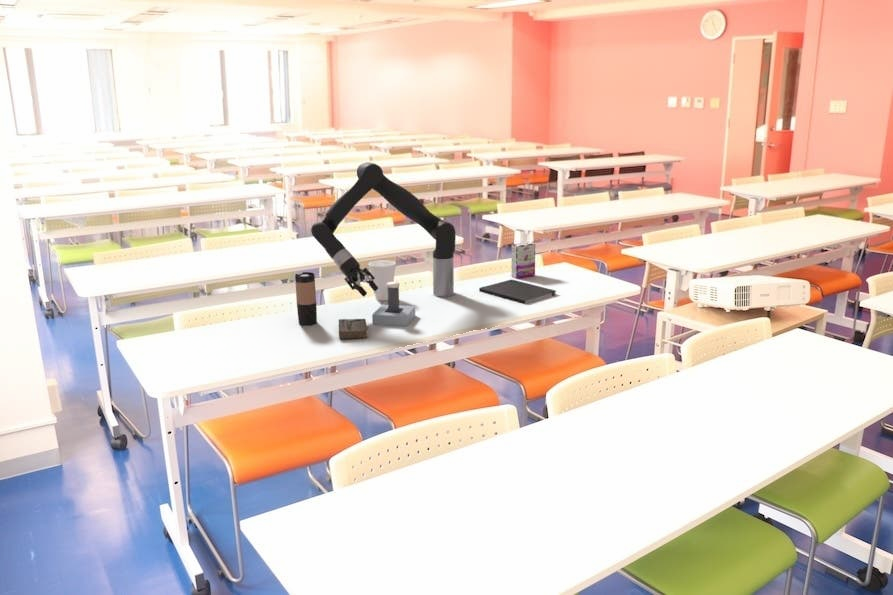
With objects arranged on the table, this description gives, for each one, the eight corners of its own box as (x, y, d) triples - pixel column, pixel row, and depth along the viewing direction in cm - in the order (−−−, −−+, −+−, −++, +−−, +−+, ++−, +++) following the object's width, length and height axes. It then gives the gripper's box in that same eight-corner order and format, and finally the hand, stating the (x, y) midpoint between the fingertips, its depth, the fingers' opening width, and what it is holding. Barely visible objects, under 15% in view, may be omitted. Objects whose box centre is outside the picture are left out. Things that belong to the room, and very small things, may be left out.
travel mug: (315, 325, 290) (312, 276, 284) (296, 325, 290) (292, 276, 285) (319, 319, 297) (316, 271, 292) (300, 319, 298) (297, 272, 292)
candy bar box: (529, 273, 366) (530, 241, 362) (535, 276, 362) (536, 243, 358) (510, 276, 361) (511, 244, 357) (516, 279, 357) (516, 245, 352)
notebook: (479, 292, 336) (524, 305, 316) (479, 287, 336) (525, 300, 316) (511, 283, 350) (557, 295, 330) (511, 279, 350) (557, 290, 330)
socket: (382, 313, 305) (382, 304, 304) (415, 315, 302) (415, 306, 301) (372, 324, 292) (372, 314, 290) (406, 326, 289) (406, 316, 288)
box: (338, 339, 274) (338, 331, 273) (338, 326, 290) (338, 318, 289) (367, 338, 275) (367, 330, 274) (365, 325, 292) (365, 317, 291)
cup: (368, 302, 321) (367, 266, 316) (371, 294, 332) (369, 260, 328) (396, 301, 321) (395, 266, 316) (397, 294, 332) (396, 259, 328)
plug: (389, 317, 300) (388, 281, 295) (401, 318, 299) (400, 282, 294) (386, 321, 295) (385, 284, 291) (398, 322, 294) (397, 285, 290)
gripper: (341, 260, 292) (366, 291, 291) (360, 252, 304) (385, 282, 303) (331, 271, 296) (356, 302, 294) (350, 264, 308) (375, 293, 307)
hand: (371, 292), depth 299 cm, fingers open, 8 cm apart
